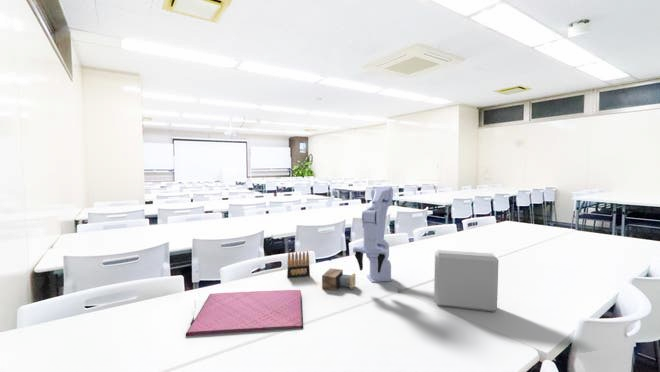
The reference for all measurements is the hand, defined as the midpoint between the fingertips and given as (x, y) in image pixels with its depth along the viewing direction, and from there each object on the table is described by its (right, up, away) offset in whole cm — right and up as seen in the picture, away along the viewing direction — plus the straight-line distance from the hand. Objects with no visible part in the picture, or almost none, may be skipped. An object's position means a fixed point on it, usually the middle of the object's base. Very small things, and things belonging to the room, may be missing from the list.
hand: (370, 270), depth 127 cm
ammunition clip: (-32, -8, +18) cm, 37 cm away
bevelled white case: (+33, -9, -13) cm, 37 cm away
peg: (-11, -8, +5) cm, 15 cm away
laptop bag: (-47, -11, -18) cm, 51 cm away
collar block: (-16, -8, +6) cm, 19 cm away
